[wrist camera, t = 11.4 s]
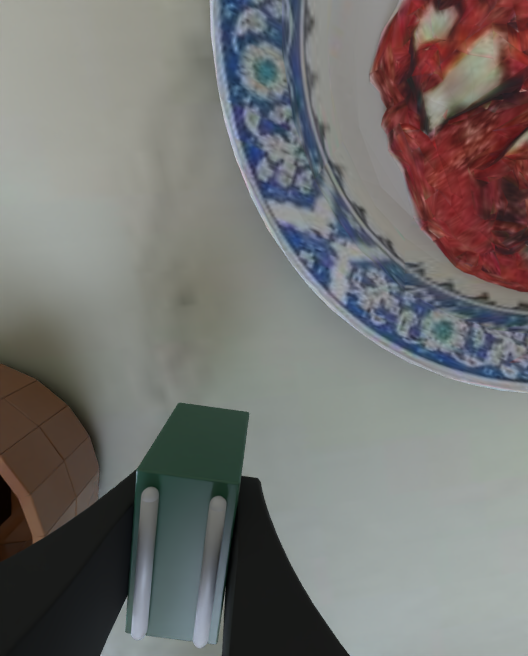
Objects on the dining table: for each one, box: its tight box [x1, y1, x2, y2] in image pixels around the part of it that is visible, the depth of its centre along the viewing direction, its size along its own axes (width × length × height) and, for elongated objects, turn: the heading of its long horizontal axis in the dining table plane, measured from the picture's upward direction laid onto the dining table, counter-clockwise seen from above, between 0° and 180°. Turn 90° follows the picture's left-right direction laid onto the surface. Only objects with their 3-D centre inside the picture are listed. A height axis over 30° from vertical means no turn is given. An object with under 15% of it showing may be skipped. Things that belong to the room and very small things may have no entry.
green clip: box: [125, 403, 249, 648], centre depth 10 cm, size 5×2×4 cm, turn 172°
